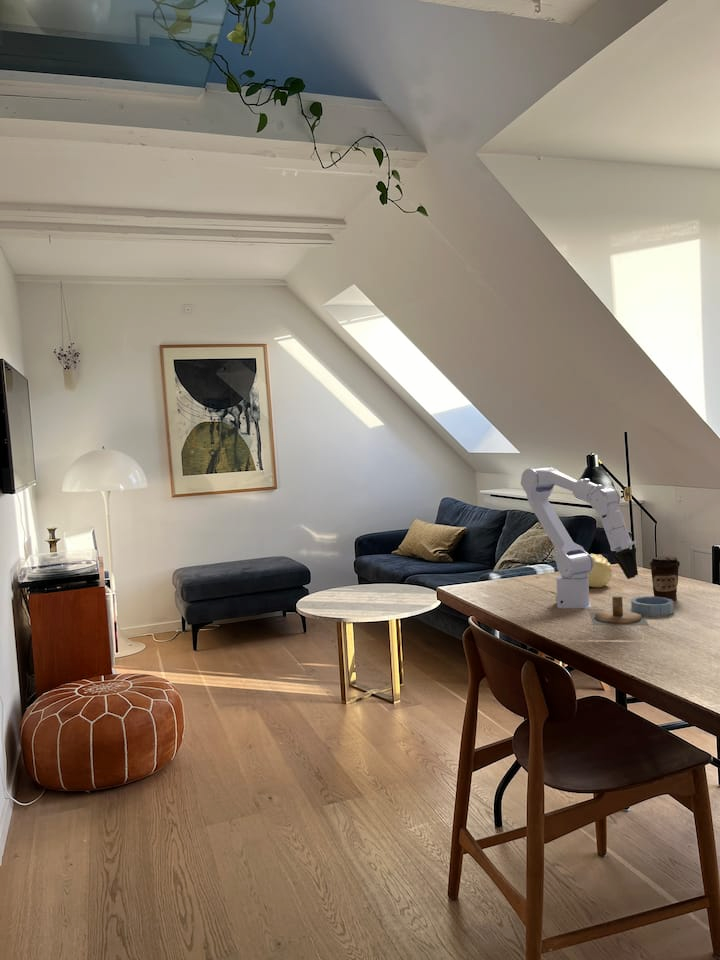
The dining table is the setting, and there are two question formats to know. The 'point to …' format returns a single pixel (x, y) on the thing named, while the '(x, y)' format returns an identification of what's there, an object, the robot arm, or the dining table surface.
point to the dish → (652, 606)
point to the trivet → (596, 622)
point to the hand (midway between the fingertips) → (632, 577)
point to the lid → (617, 614)
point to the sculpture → (599, 571)
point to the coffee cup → (665, 576)
